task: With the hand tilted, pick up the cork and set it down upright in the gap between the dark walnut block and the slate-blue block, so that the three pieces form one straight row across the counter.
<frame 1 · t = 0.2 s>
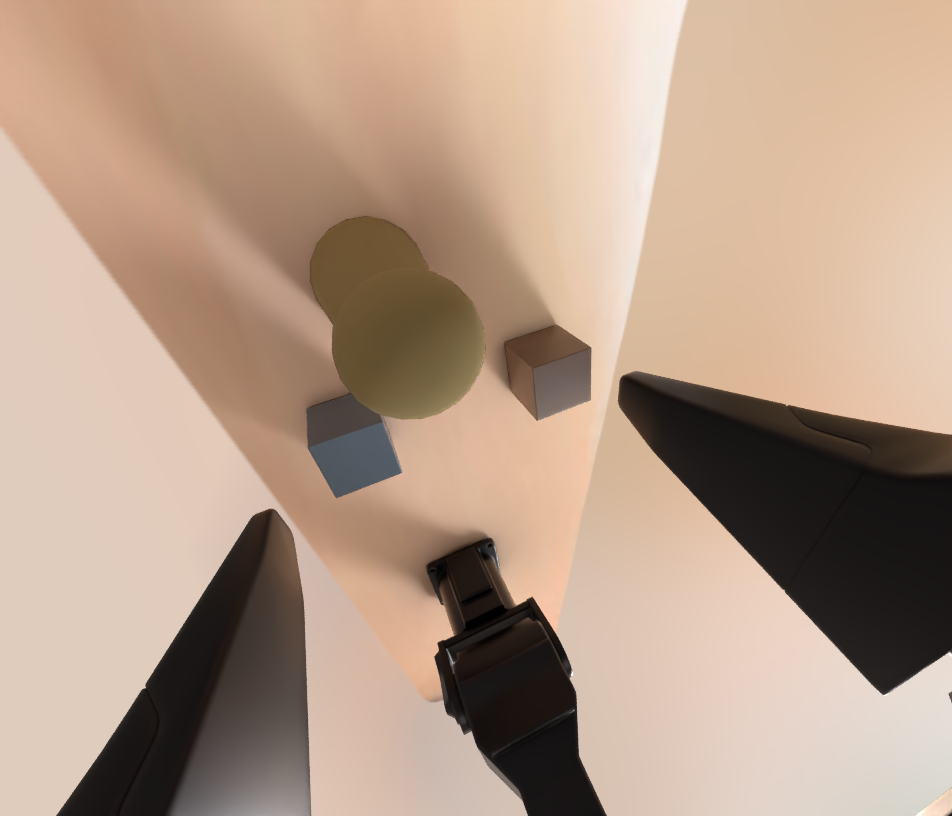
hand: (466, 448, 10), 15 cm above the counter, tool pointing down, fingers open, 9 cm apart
walnut block: (533, 358, 28), on the counter
slate block: (350, 422, 25), on the counter
cork: (370, 278, 21), on the counter
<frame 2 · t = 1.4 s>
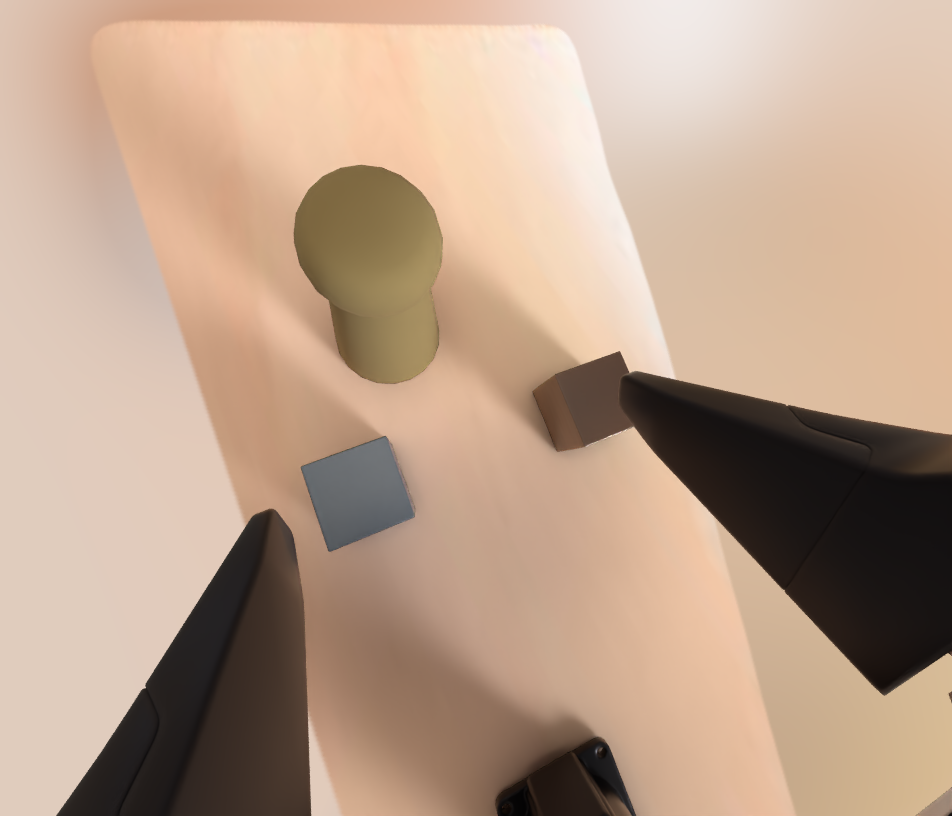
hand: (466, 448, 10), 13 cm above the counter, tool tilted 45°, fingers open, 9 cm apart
walnut block: (573, 410, 24), on the counter
slate block: (368, 489, 22), on the counter
cork: (388, 335, 24), on the counter
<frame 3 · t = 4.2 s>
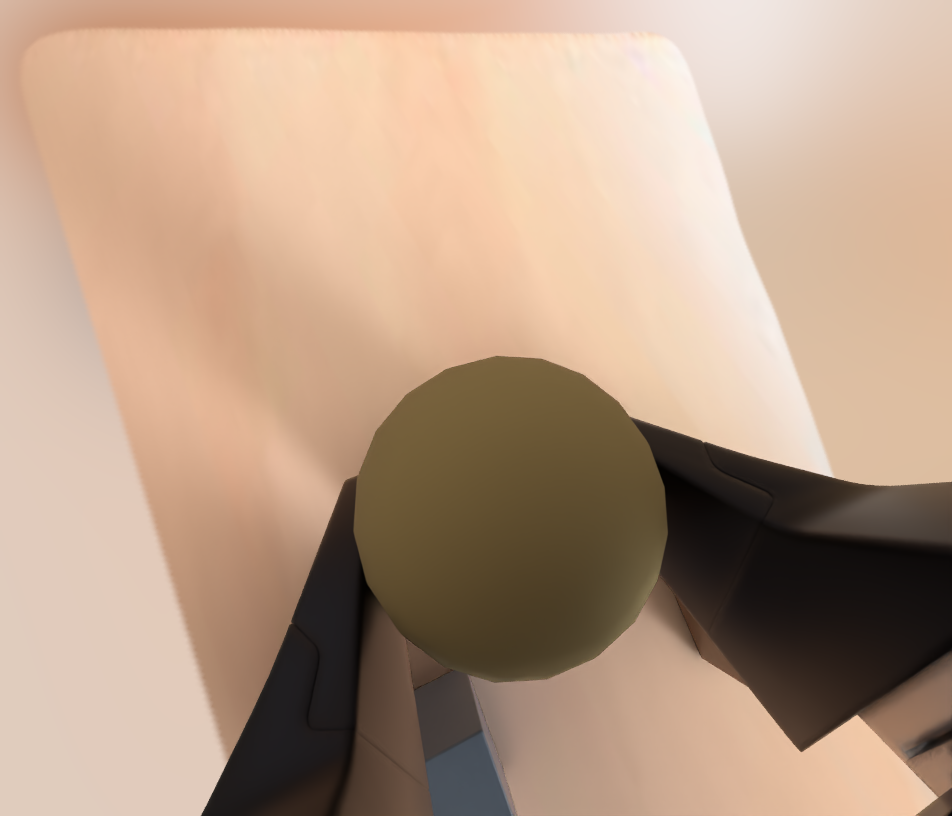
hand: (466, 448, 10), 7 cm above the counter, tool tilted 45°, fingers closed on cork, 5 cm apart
walnut block: (719, 590, 17), on the counter
slate block: (433, 744, 14), on the counter
cork: (455, 489, 16), on the counter, touching gripper
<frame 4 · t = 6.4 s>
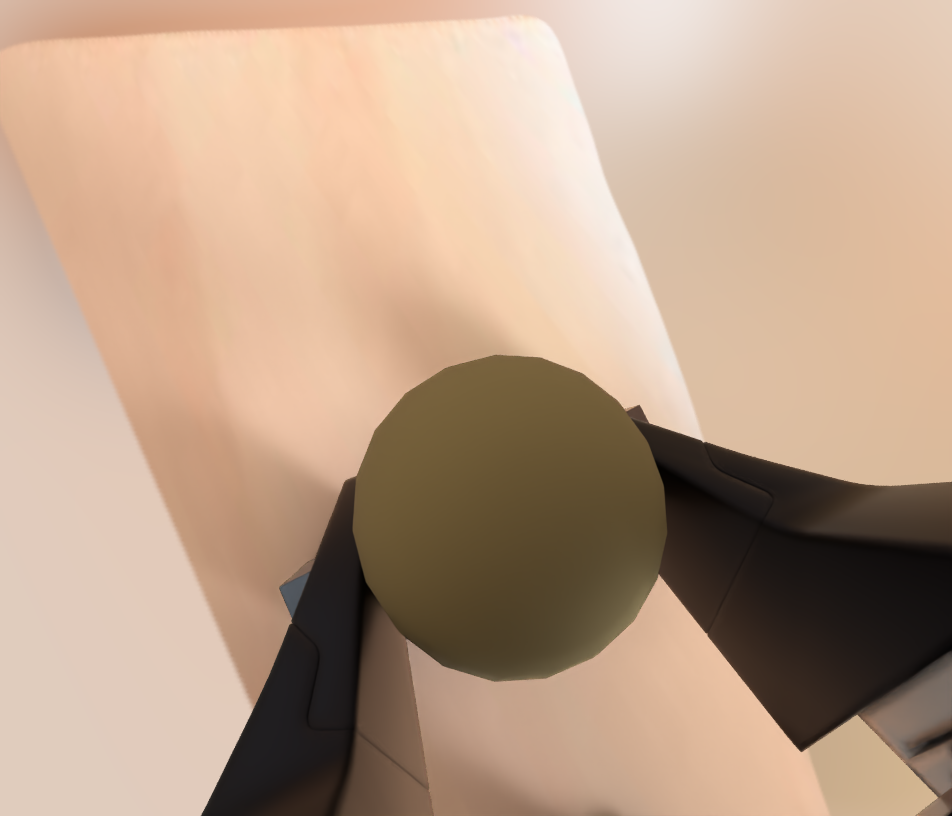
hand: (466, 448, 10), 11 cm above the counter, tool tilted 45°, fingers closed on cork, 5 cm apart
slate block: (363, 580, 19), on the counter
cork: (455, 488, 16), point 4 cm above the counter, touching gripper
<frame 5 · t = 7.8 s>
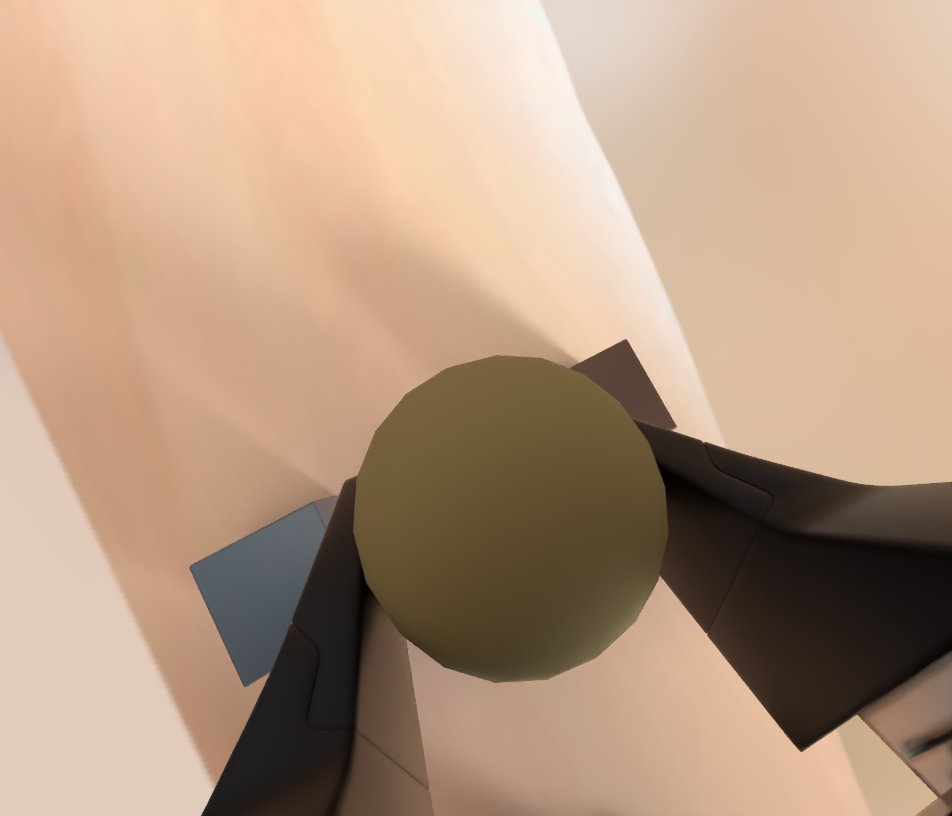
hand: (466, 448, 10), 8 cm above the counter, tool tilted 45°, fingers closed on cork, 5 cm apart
walnut block: (570, 419, 19), on the counter
slate block: (312, 562, 16), on the counter
cork: (455, 489, 16), point 1 cm above the counter, touching gripper
when the fingers open (7 cm above the counter, at t = 8.7 s): cork stays where it is, on the counter.
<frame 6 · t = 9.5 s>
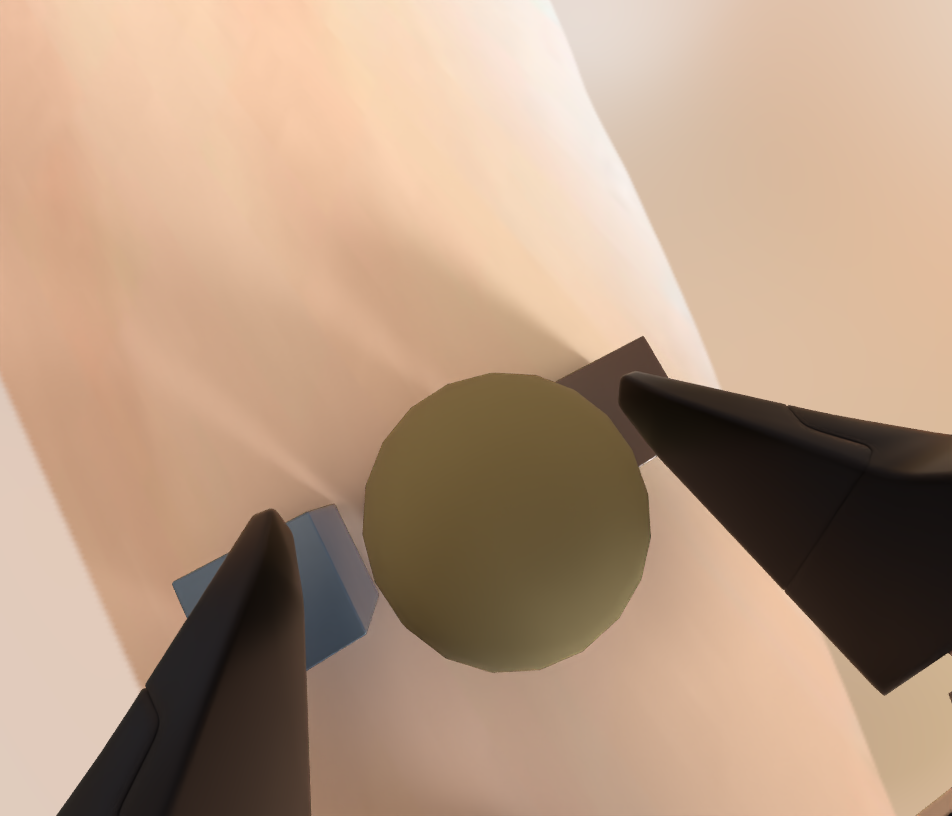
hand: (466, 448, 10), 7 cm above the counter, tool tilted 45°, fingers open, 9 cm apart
walnut block: (582, 422, 18), on the counter
slate block: (308, 575, 15), on the counter
cork: (455, 492, 17), on the counter
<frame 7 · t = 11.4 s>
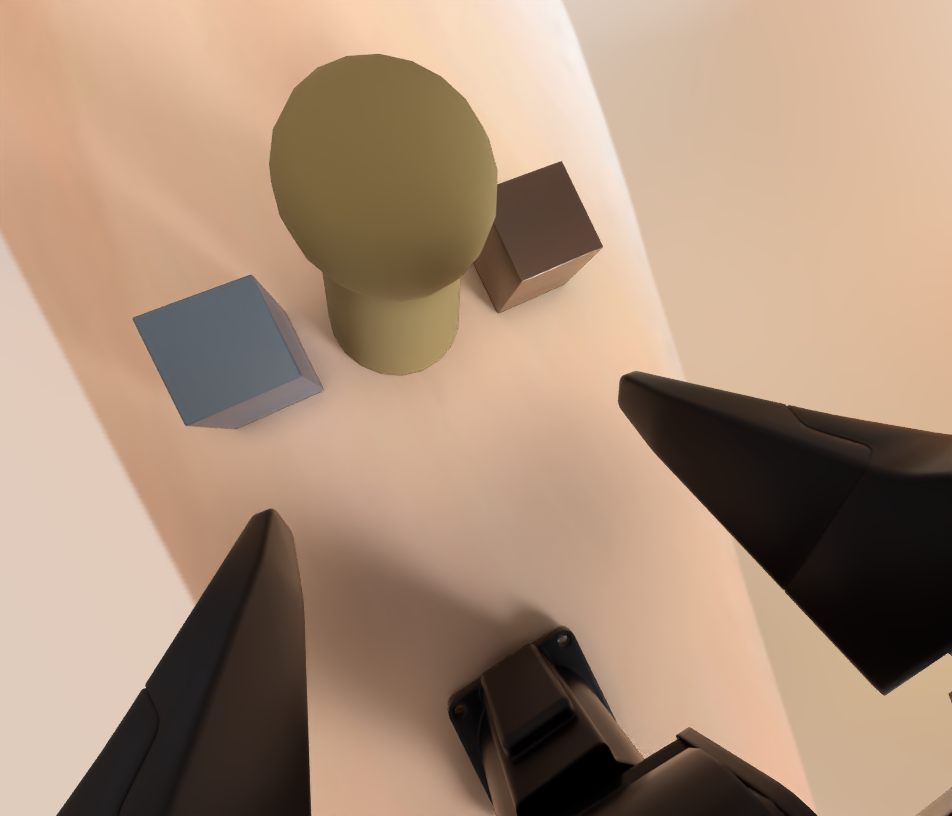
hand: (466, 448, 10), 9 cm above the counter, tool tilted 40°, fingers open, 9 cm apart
walnut block: (514, 263, 20), on the counter
slate block: (260, 368, 17), on the counter
cork: (396, 313, 19), on the counter
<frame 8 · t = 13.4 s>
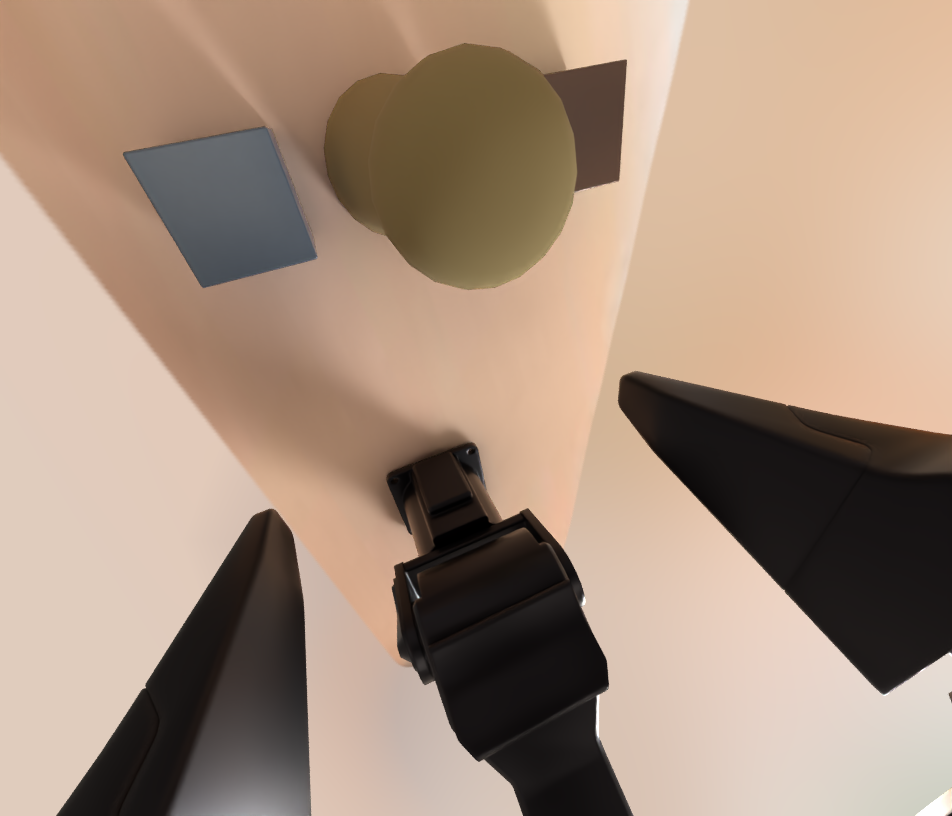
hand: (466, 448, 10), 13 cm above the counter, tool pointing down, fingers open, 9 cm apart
walnut block: (532, 134, 18), on the counter
slate block: (243, 197, 16), on the counter
cork: (397, 163, 17), on the counter
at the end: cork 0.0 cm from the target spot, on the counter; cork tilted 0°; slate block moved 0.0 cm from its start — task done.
